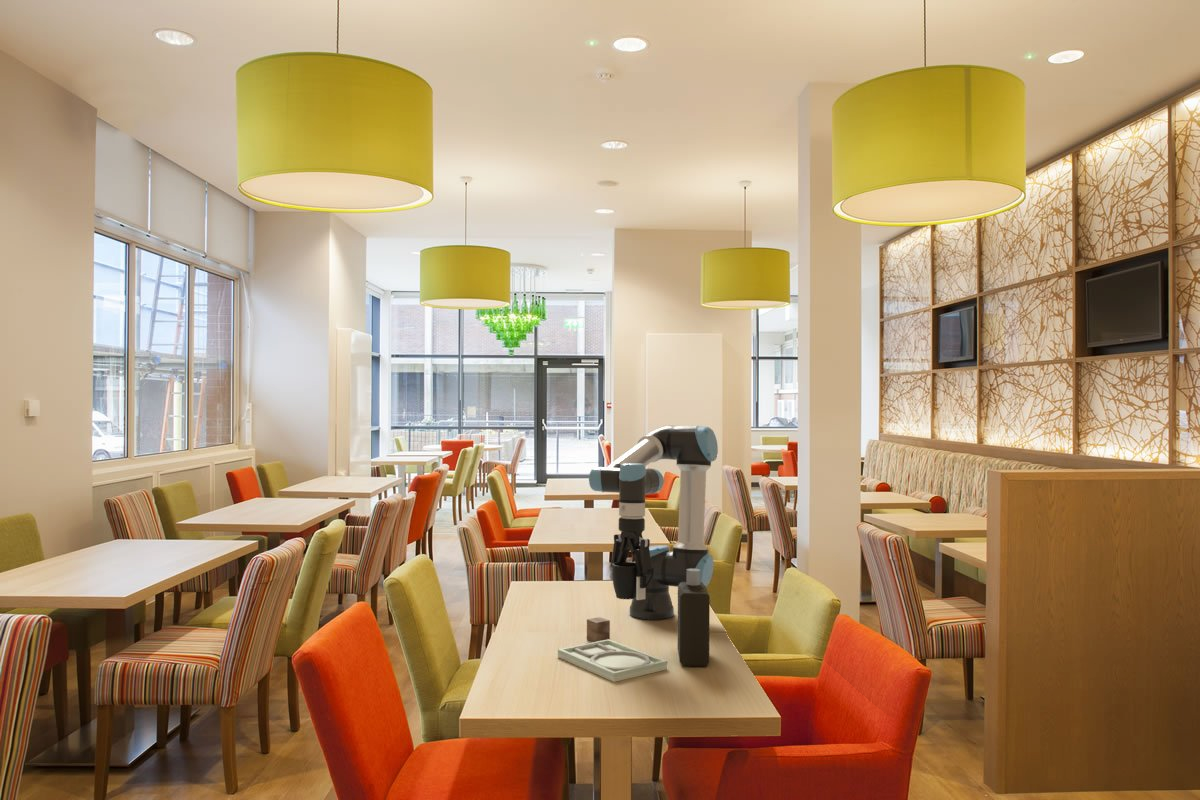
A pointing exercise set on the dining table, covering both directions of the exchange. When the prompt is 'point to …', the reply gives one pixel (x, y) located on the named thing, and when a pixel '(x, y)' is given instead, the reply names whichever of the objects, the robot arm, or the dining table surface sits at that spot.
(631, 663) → the tray
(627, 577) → the mug
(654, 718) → the dining table surface
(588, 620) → the block
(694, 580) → the bottle
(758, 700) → the dining table surface
